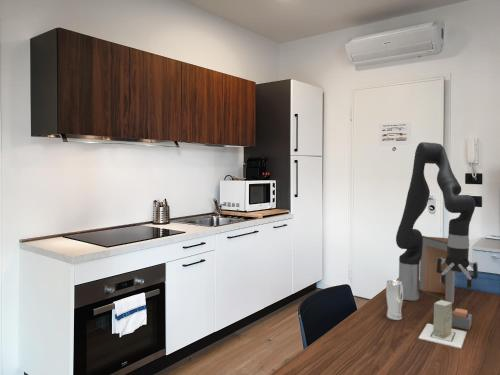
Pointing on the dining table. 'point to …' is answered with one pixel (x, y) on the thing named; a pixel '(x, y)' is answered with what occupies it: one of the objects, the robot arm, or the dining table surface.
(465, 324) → the button housing
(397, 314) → the beer glass
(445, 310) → the skincare box
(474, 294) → the dining table surface
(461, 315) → the button
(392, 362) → the dining table surface
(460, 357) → the dining table surface
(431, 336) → the paper sheet
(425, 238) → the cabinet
